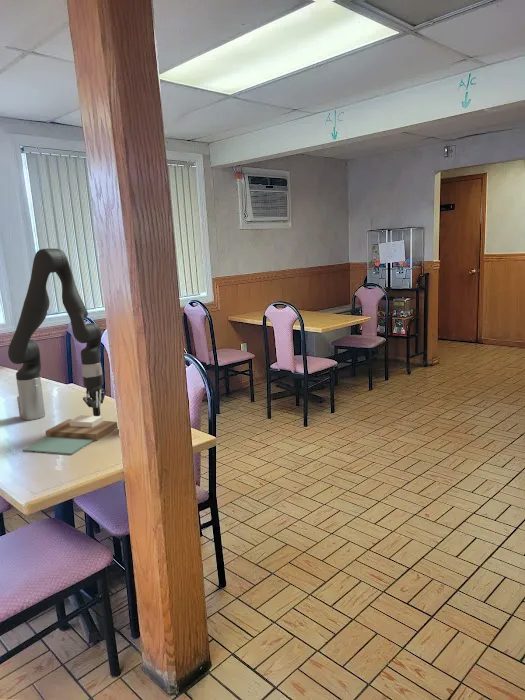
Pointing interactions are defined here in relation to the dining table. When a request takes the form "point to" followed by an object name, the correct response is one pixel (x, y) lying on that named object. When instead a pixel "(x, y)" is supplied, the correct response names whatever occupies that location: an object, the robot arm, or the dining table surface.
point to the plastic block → (86, 421)
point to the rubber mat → (59, 445)
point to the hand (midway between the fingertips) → (97, 415)
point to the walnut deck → (81, 430)
